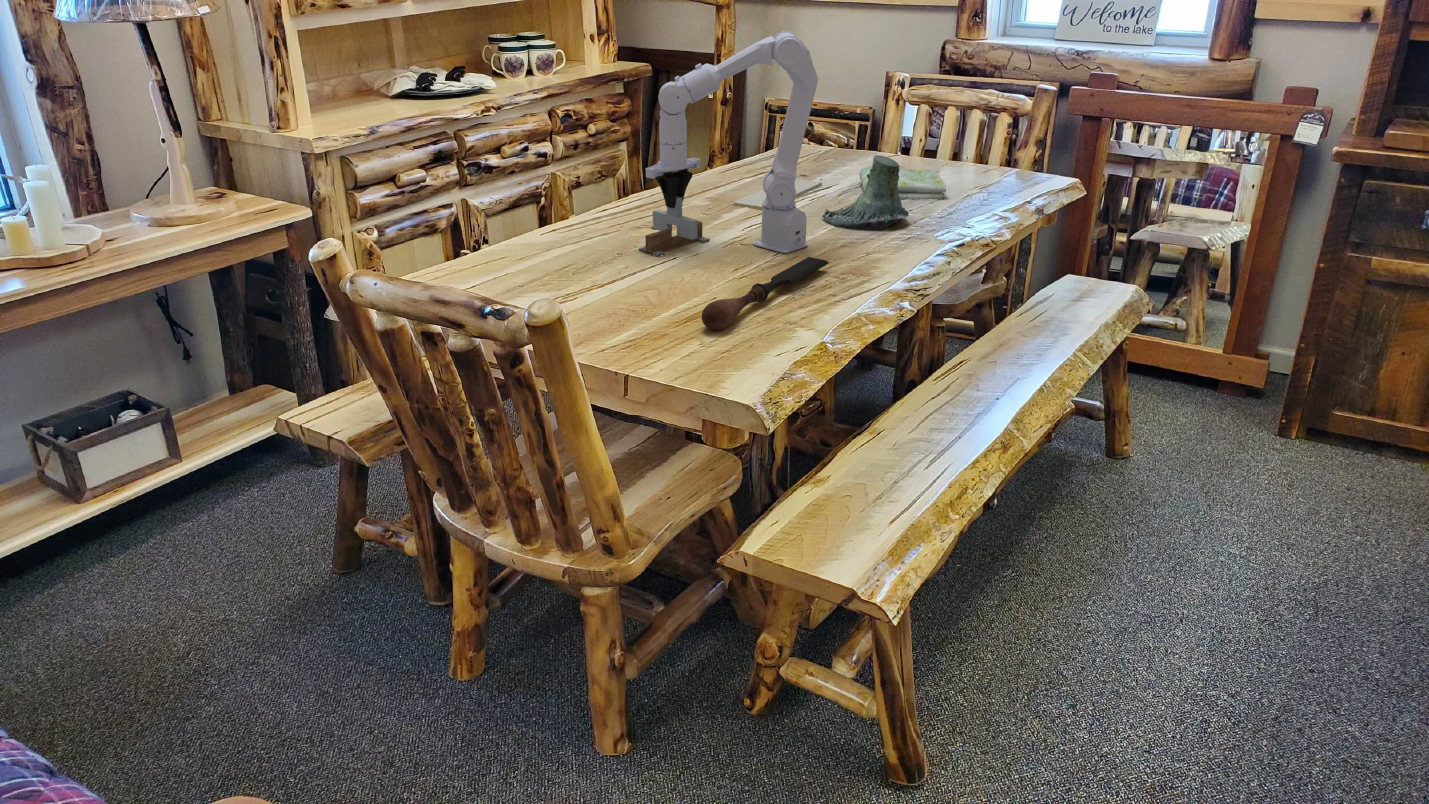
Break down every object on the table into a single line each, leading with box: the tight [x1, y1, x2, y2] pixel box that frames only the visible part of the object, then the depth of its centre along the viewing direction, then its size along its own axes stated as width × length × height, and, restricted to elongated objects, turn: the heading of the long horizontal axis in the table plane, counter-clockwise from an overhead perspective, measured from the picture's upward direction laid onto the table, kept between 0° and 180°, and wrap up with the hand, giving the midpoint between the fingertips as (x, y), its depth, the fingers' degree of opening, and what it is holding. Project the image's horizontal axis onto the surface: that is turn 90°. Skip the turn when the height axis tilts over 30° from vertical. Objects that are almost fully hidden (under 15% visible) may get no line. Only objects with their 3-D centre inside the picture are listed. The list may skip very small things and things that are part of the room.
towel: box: [859, 165, 947, 200], centre depth 269 cm, size 18×21×5 cm
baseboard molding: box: [729, 174, 823, 211], centre depth 265 cm, size 31×3×12 cm
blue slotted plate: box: [652, 196, 698, 240], centre depth 221 cm, size 12×2×8 cm, turn 47°
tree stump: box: [821, 154, 910, 230], centre depth 240 cm, size 18×20×18 cm
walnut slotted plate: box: [638, 220, 711, 258], centre depth 223 cm, size 6×16×4 cm, turn 137°
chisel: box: [701, 256, 830, 331], centre depth 192 cm, size 5×43×5 cm, turn 148°
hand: (674, 206), depth 220 cm, fingers closed on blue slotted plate, 2 cm apart
